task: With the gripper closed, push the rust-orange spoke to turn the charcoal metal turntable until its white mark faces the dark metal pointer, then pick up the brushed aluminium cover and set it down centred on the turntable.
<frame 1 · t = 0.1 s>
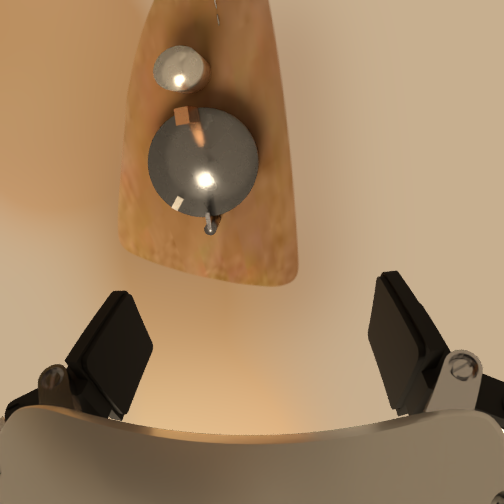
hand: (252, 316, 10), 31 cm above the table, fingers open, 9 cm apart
cover: (189, 74, 32), on the table
dial pointer: (215, 218, 41), on the table
turntable: (197, 165, 33), point 5 cm above the table, hinge at 0.0°
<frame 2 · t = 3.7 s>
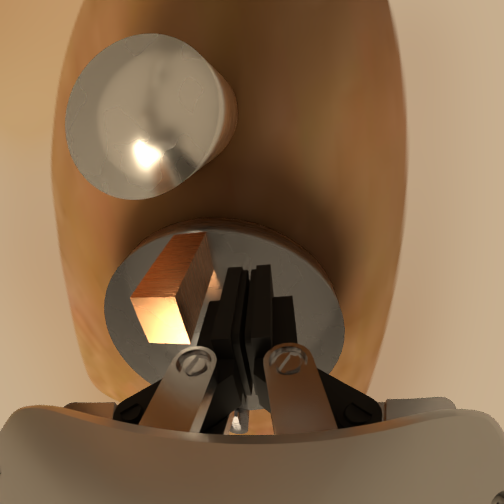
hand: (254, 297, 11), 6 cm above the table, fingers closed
cover: (181, 115, 13), on the table
dial pointer: (241, 389, 23), on the table
turntable: (214, 367, 15), point 5 cm above the table, hinge at 0.3°, touching gripper
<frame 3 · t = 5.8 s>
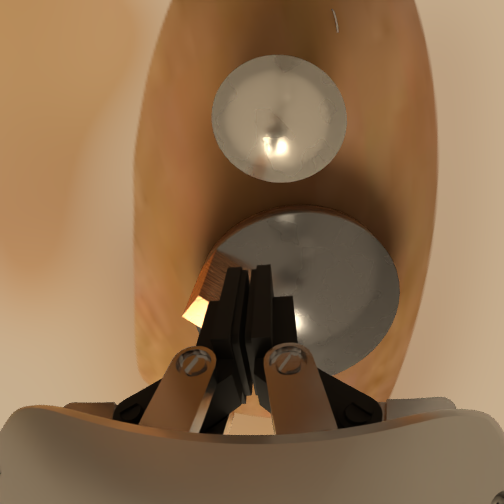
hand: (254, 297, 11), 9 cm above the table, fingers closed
cover: (275, 120, 16), on the table
turntable: (301, 332, 18), point 5 cm above the table, hinge at 46.5°
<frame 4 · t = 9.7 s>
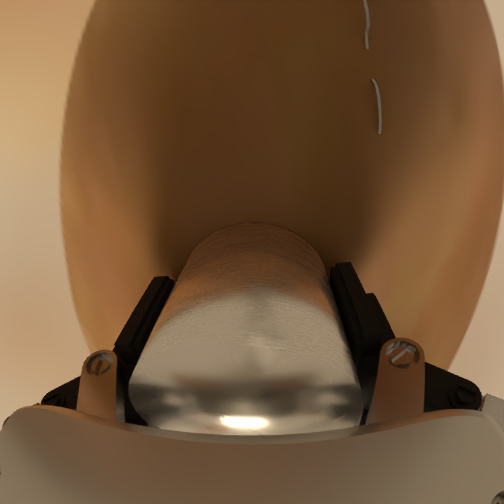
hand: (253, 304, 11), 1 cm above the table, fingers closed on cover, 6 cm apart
cover: (254, 291, 11), on the table, touching gripper
turntable: (281, 486, 13), point 5 cm above the table, hinge at 46.5°
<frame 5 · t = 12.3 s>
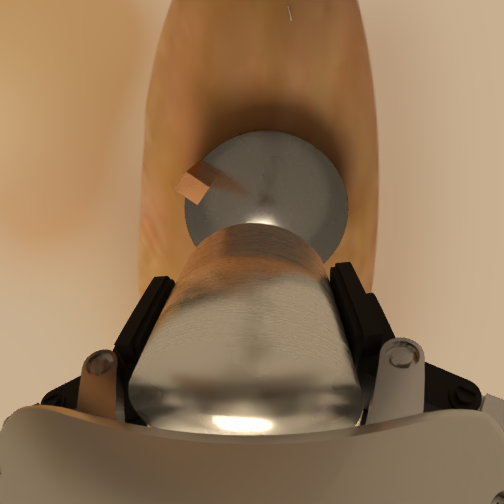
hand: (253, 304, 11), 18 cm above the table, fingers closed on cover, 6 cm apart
cover: (254, 292, 11), point 17 cm above the table, touching gripper
turntable: (266, 221, 24), point 5 cm above the table, hinge at 46.5°
when the fingers open (5 cm above the table, at t = 15.3 s): cover drops 1 cm, resting on turntable.
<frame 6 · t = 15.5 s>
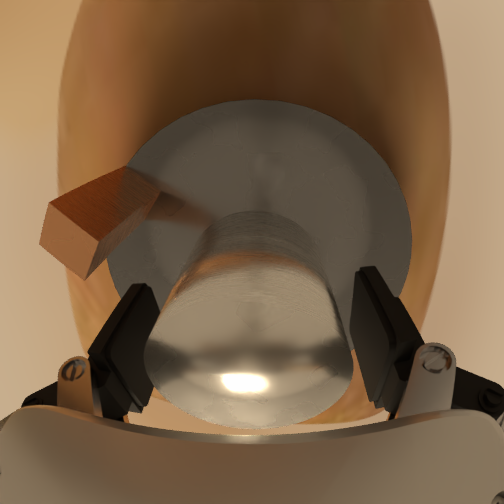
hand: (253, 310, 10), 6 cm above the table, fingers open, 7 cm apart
cover: (255, 274, 13), point 3 cm above the table, touching turntable
turntable: (254, 294, 11), point 5 cm above the table, hinge at 46.5°, touching cover
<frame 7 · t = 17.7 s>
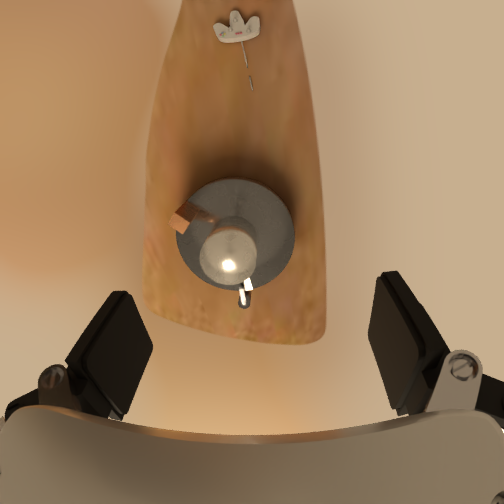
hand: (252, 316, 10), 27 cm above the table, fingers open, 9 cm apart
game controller: (241, 51, 28), on the table
cover: (233, 238, 35), point 3 cm above the table, touching turntable
dial pointer: (246, 287, 41), on the table
turntable: (232, 244, 33), point 5 cm above the table, hinge at 46.5°, touching cover
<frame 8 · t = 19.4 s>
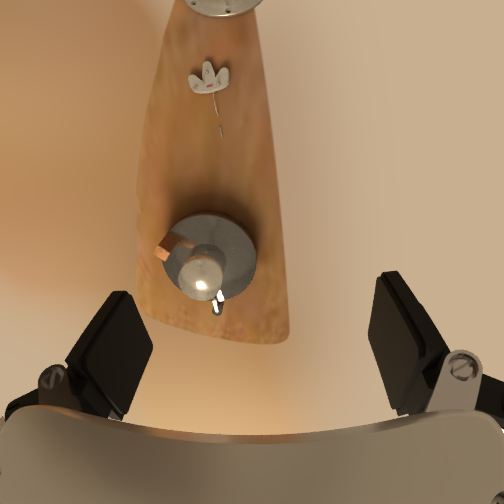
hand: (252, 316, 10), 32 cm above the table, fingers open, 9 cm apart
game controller: (213, 100, 35), on the table
cover: (207, 261, 43), point 3 cm above the table, touching turntable
dial pointer: (220, 296, 50), on the table
turntable: (205, 266, 41), point 5 cm above the table, hinge at 46.5°, touching cover
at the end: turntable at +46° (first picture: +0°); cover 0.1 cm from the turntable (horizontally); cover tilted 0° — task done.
